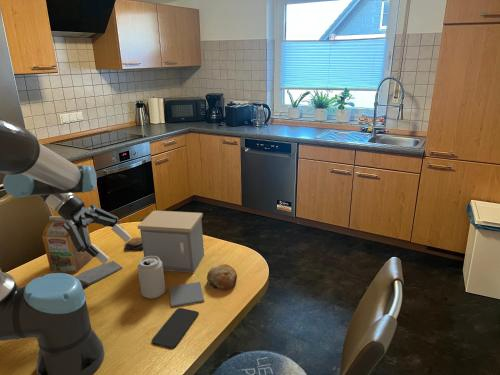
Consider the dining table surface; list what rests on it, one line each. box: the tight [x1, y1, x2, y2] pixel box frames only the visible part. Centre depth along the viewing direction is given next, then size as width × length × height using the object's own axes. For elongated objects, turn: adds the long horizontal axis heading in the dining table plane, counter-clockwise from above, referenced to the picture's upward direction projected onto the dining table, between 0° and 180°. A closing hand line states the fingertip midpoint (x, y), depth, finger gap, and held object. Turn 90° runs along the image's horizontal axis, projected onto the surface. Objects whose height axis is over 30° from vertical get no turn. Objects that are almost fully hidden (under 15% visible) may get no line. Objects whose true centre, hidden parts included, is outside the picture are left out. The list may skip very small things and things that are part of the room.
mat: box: [169, 281, 205, 308], centre depth 118 cm, size 10×10×1 cm
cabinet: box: [137, 210, 205, 274], centre depth 133 cm, size 14×19×17 cm
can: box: [137, 256, 166, 300], centre depth 117 cm, size 8×8×12 cm
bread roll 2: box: [122, 236, 143, 253], centre depth 149 cm, size 11×8×4 cm
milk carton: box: [41, 215, 95, 274], centre depth 135 cm, size 11×11×19 cm
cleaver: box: [74, 260, 123, 290], centre depth 126 cm, size 29×10×2 cm, turn 143°
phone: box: [151, 307, 200, 349], centre depth 104 cm, size 7×1×15 cm
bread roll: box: [206, 263, 238, 292], centre depth 123 cm, size 10×10×8 cm
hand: (118, 250), depth 117 cm, fingers open, 13 cm apart
